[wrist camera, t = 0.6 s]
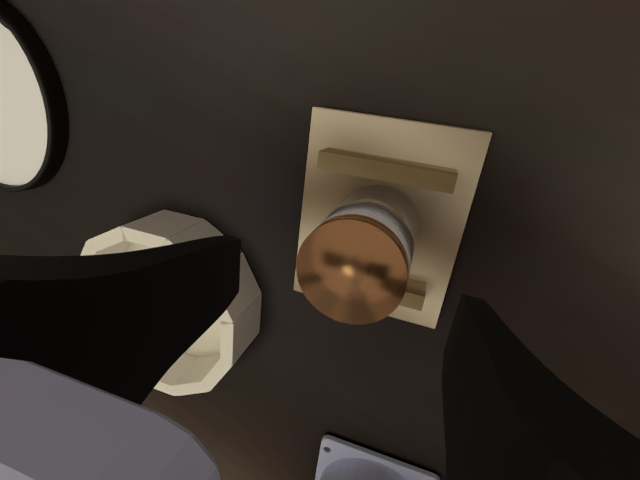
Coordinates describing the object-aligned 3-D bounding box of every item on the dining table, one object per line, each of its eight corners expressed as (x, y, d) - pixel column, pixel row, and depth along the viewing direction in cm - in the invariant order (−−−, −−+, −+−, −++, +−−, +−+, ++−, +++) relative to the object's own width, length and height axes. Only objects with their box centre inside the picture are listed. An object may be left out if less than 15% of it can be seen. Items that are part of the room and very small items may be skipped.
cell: (408, 269, 19) (394, 337, 13) (333, 250, 19) (291, 307, 14) (427, 192, 17) (419, 235, 12) (344, 177, 18) (301, 210, 13)
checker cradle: (435, 318, 20) (434, 345, 18) (299, 282, 22) (283, 302, 20) (489, 131, 16) (496, 136, 14) (318, 106, 18) (301, 107, 16)
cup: (256, 379, 26) (230, 417, 23) (126, 334, 29) (87, 363, 25) (265, 233, 22) (235, 256, 18) (111, 196, 24) (62, 211, 21)
